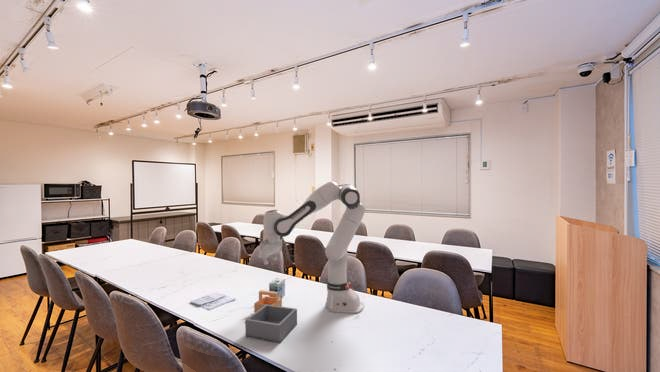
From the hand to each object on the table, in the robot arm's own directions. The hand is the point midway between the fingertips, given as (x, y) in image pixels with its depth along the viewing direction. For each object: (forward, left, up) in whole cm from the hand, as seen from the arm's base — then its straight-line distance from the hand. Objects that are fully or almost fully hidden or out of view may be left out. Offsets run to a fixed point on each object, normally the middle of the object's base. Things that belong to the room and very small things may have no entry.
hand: (270, 262), depth 159 cm
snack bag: (+40, 0, -28) cm, 49 cm away
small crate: (0, +2, -27) cm, 27 cm away
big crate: (-13, +20, -27) cm, 36 cm away
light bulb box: (+5, -17, -27) cm, 32 cm away
